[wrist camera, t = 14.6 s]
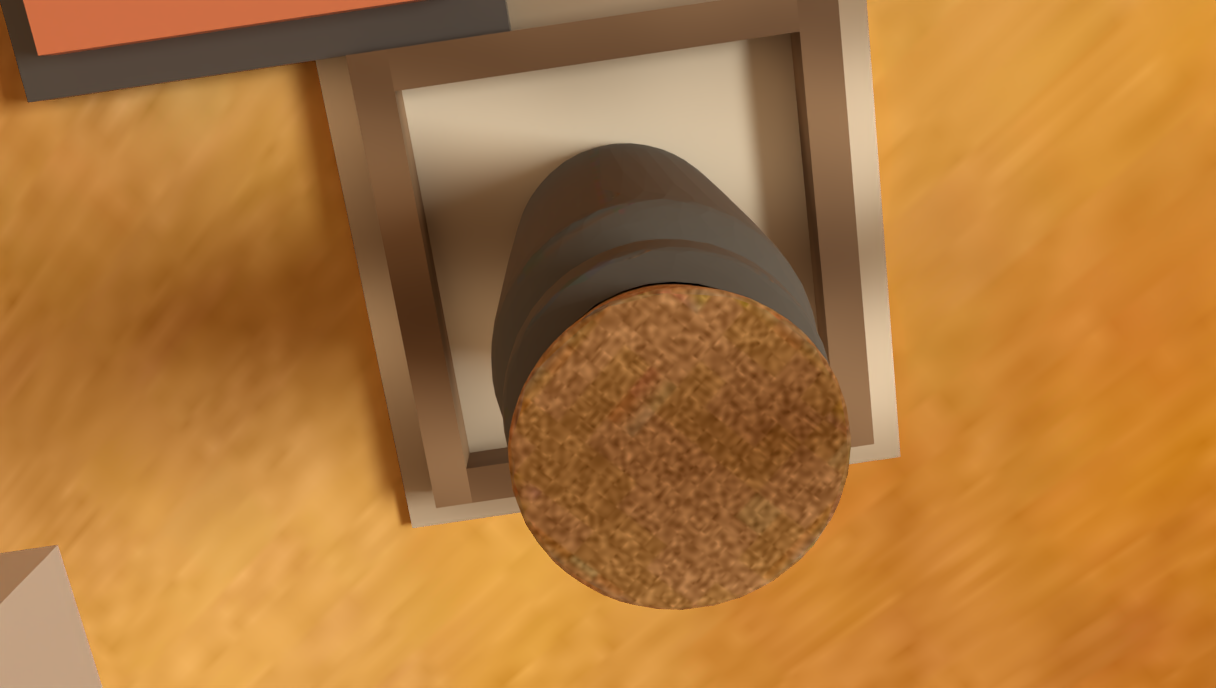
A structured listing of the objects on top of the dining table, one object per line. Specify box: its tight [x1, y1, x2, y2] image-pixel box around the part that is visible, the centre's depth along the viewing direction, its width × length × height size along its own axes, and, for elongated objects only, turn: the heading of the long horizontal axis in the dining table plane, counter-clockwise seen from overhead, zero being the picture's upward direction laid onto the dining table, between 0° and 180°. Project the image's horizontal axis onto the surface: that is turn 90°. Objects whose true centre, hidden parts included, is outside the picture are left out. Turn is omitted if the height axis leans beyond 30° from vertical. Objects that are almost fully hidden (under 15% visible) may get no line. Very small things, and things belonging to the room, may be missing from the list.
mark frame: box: [315, 0, 900, 528], centre depth 29 cm, size 14×14×2 cm
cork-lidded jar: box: [491, 143, 851, 610], centre depth 22 cm, size 6×6×15 cm
